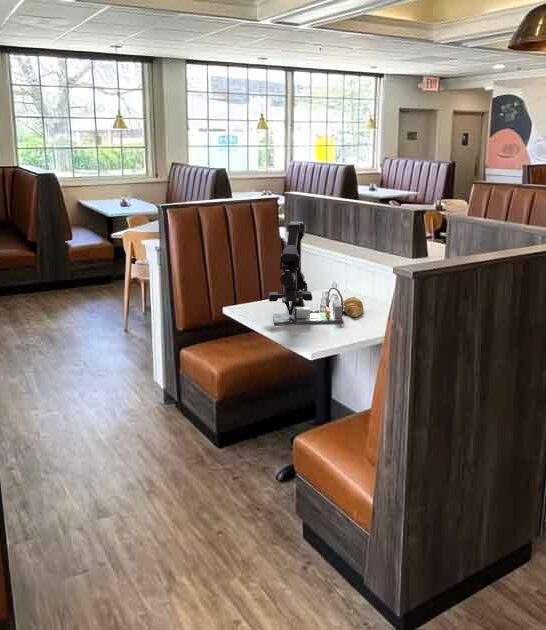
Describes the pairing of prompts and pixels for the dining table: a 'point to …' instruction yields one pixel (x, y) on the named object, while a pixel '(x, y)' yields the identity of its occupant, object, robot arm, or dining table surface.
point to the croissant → (353, 306)
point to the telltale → (327, 312)
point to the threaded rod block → (304, 312)
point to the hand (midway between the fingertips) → (290, 315)
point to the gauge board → (312, 317)
